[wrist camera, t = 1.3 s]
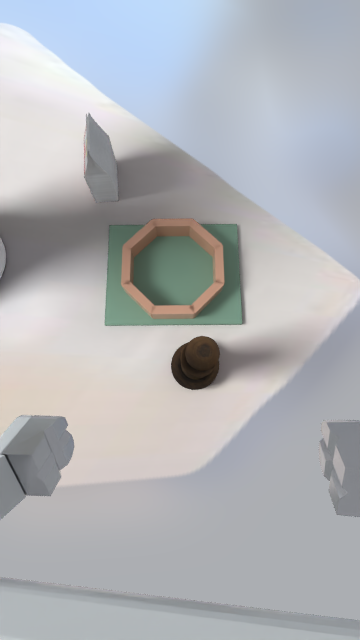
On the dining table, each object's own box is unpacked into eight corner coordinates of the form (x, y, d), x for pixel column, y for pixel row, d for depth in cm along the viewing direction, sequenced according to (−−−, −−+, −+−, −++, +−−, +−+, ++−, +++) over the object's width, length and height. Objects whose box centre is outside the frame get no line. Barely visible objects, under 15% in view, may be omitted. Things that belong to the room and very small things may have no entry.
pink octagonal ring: (124, 319, 43) (120, 314, 40) (127, 229, 46) (123, 219, 44) (222, 318, 43) (225, 313, 40) (219, 228, 46) (221, 218, 44)
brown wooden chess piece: (188, 334, 43) (192, 299, 26) (226, 359, 43) (257, 339, 25) (162, 373, 42) (149, 363, 25) (201, 398, 41) (215, 407, 24)
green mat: (105, 325, 44) (104, 324, 43) (110, 227, 47) (109, 225, 47) (241, 324, 44) (242, 323, 43) (236, 226, 47) (236, 224, 47)
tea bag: (117, 165, 50) (101, 111, 40) (118, 200, 48) (102, 153, 39) (95, 166, 50) (74, 113, 40) (95, 202, 48) (74, 155, 39)
